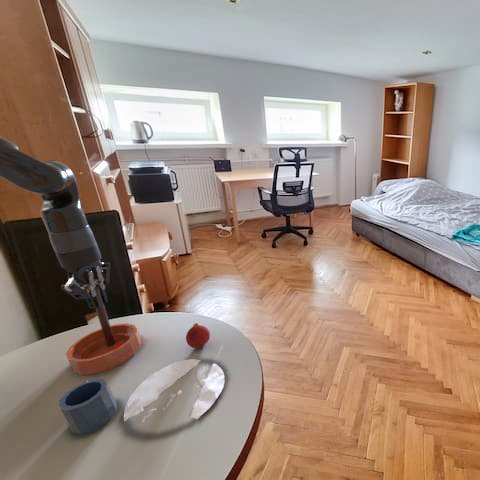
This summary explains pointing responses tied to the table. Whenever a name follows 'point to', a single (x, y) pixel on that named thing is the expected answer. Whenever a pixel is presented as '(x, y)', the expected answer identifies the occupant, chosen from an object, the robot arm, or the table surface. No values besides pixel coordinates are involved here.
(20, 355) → the table surface
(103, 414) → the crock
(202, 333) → the onion
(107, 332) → the stick
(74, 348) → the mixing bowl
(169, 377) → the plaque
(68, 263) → the robot arm
